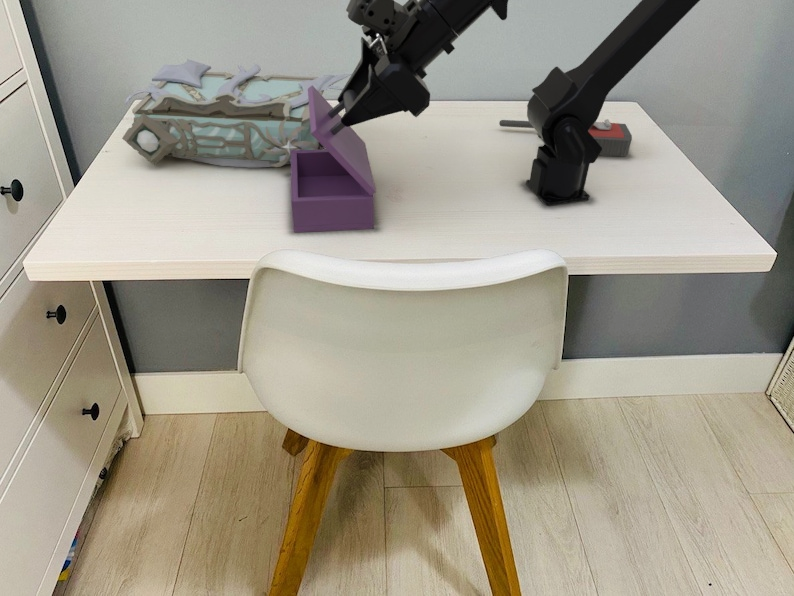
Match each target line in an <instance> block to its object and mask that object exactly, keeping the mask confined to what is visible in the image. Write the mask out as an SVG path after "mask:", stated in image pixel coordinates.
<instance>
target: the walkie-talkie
mask: <svg viewBox="0 0 794 596" xmlns="http://www.w3.org/2000/svg"><path fill="white" fill-rule="evenodd" d="M498 124H499V126H500V127H502V128H503V127H505V128H524V129H534V127H533V126H532V125H531V124H530V122H529V121H528V120H513V119H500V120H499V123H498ZM588 132H589V133H590V134H591V135H592V136H593V138H594V139H595V140H596V141H597V142H598V144H599V145H600V146H601V147H602V151H601V152H600V154H599V156H606V157H625V156H628V154H629V151H630V147H631V145H632V139H633V135H632V133H631V131H630V129H629V128H628V126H627V124H626V123H619V122H611V121H610V120H609V119H608V118H607V119H604V122H601V121H600V122H599V121H596V122H595V123H594V124H593V125H592V127H591V128H590V129H589V131H588Z"/></svg>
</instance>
